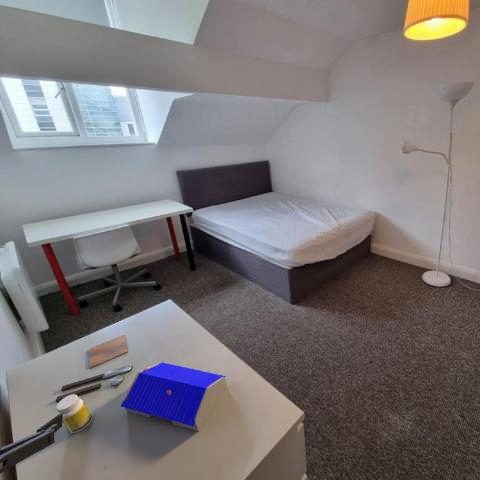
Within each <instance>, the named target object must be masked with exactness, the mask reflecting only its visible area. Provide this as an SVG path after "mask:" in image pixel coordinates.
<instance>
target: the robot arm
mask: <svg viewBox="0 0 480 480" xmlns="http://www.w3.org/2000/svg"><path fill="white" fill-rule="evenodd" d="M62 428H63V414H59V415H58V414H57V415H55V416H54V417H53V418H51V419H50V420H49V421H48V422H46V423H45V424H43V425H42V426H40V427H39V428H37V430H35V433H32V434H30V435H28V436H26V437H23V438H21V439H18V440H16V441H13V442H11V443H9V444H6V445H5V446H2V447H0V475H1V474H3V472H5V471H7V470H8V469H10V468H12V467H14V466H16V465H17V464H19V463H21V462H23V461H24V460H26V459H29V458H30V457H31V456H33V455H36V454H37V453H39V452H40V451H42V450H44V449H46V448H48V447H50V446H52V445H53V444H55V434H56V433H57V432H58V431H59V430H60V429H62Z"/></svg>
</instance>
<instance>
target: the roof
mask: <svg viewBox="0 0 480 480" xmlns="http://www.w3.org/2000/svg"><path fill="white" fill-rule="evenodd" d="M226 377H227V375H222V374H217V373H214V372H208V371H203V370H200V369H195V368H190V367H185V366H180V365H175V364H171V363H166V362H157V363H156V364H153V365H151V366H148V367H146V368H143V369H141V370H139V371H137V373H136V374H135V376H134V377H133V380H132V382H131V384H130V385H129V388H128V390H127V391H126V393H125V394H124V397H123V399H122V401H121V404H120V407H121V408H123V409H125V411H126V412H128V413H130V414H135V415H138V416H141V417H146V418H149V419H151V417H152V416H154V417H157V418H161V419H163V420H169V421H171V423H172V425H174V426H178V427H181V428H185V429H188V430H192V431H196V432H200V430H201V429H202V427H203V425H204V424H205V422H206V421H207V419H208V418H209V416H210V414H211V412H213V409H214V408H215V406H216V405H217V402H218V401H219V399H220V398H221V396H222V395H223V393H224V392H225V390H226V388H227V387H228V386H227V381H226Z"/></svg>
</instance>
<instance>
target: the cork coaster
mask: <svg viewBox="0 0 480 480" xmlns="http://www.w3.org/2000/svg"><path fill="white" fill-rule="evenodd" d="M128 352H129V351H128V346H127V341H126V336H125V334H123V335H119V336H117V337H114V338H112V339H110V340H108V341H105V342H103V343H101V344H98V345H96V346H93V347H90V348H88V361H89V364H88V365H89V367H88V369H92V368H95V367H97V366H99V365H101V364H104V363H107V362H108V361H111V360H113V359H116V358H118V357H121V356H122V355H125V354H127V353H128Z"/></svg>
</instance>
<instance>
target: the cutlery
mask: <svg viewBox="0 0 480 480" xmlns="http://www.w3.org/2000/svg"><path fill="white" fill-rule="evenodd" d="M132 369H133V364H128V365H125V366H121V367H119V368H115V369H112V370H109V371H106V372H104V373H102V374H98V375H95V376H94V375H93V376H91V377H87V378H84V379H81V380H78V381H74V382H71V383H67V384H64V385H62V387H61V389H60V390H61V392H64V391H67V390H70V389H75V388H77V387H80V386H84V385H86V384H91V383H93V382H97V381H100V380H107V379H110V378H112V379H111V380H110V381H109V385H110V386H111V387H117V386H119V385H121V384H122V383H123V381H124V379H125V378H124V376H123V374H126V373H129V372H131V371H132ZM101 388H102V383H101V382H100V383H96V384H93V385H91V386H86V387H84V388H81V389H78V390H74V391H71V392H67V393H64V394H61V395H58V396H56V399H55V402H56V403H59V402H60V401H61V400H62V399H63V398H65V397H67V396H69V395H73V394H75V395H77V396H78V397H79V396H80V395H84V394H87V393H90V392H94V391H96V390H100V389H101Z"/></svg>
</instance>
